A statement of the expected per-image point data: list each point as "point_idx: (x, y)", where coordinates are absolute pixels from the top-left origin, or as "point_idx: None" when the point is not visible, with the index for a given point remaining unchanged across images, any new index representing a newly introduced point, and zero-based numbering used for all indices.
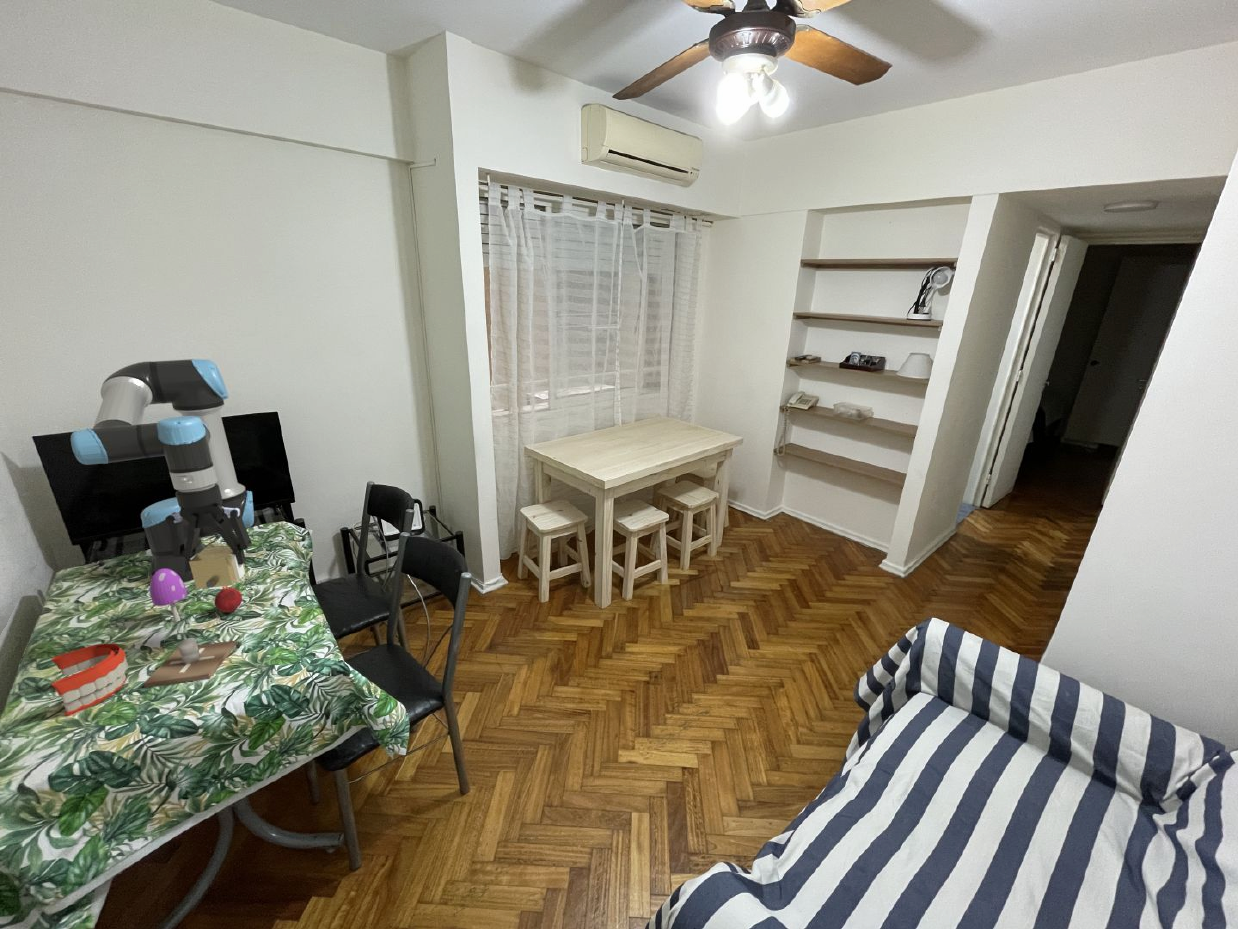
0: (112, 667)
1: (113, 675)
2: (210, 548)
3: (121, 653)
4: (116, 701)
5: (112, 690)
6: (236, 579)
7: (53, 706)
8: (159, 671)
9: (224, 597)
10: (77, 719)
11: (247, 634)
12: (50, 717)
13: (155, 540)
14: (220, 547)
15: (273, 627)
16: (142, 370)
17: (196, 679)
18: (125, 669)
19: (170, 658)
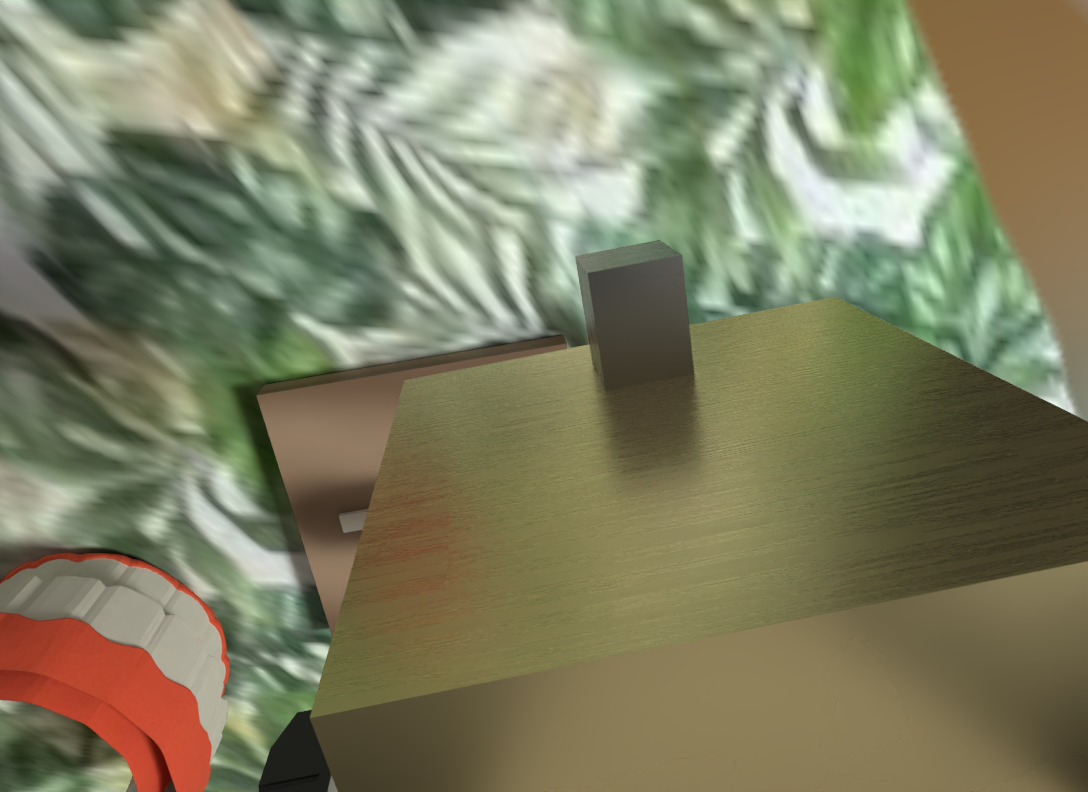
0: (204, 763)
1: (218, 730)
2: (509, 740)
3: (154, 709)
4: (285, 691)
5: (222, 674)
6: None
7: (25, 711)
8: (336, 575)
9: None
10: (223, 766)
11: (566, 232)
12: (92, 759)
13: None
14: (783, 684)
15: (695, 164)
16: None
17: None
18: (205, 654)
19: (301, 483)
